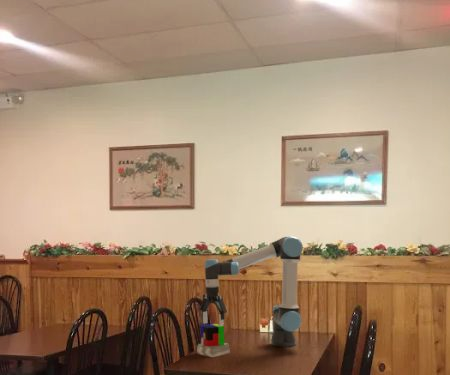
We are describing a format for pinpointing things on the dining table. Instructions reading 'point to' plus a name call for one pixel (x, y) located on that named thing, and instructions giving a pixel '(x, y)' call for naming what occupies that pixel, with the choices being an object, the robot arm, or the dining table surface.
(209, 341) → the puzzle toy
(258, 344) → the dining table surface
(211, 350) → the plinth
